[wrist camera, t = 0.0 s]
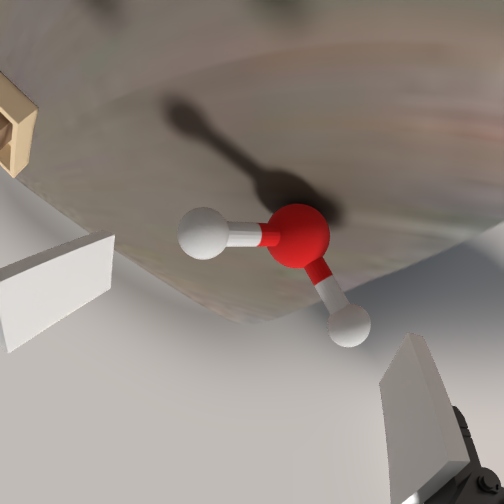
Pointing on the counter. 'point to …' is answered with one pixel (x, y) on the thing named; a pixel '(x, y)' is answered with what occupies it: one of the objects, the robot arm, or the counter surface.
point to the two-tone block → (5, 130)
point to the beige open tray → (16, 126)
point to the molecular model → (282, 256)
